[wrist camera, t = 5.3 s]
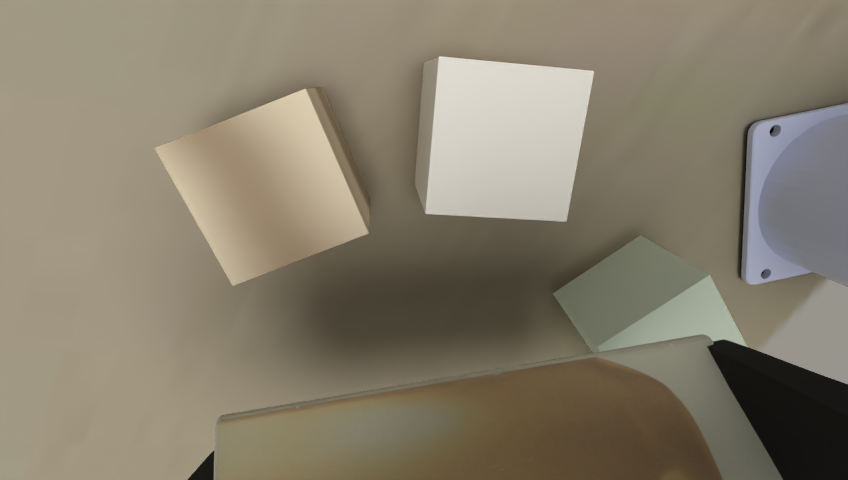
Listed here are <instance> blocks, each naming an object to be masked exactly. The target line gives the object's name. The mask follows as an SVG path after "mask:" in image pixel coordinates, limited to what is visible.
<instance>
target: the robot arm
mask: <svg viewBox="0 0 848 480" xmlns="http://www.w3.org/2000/svg"><path fill="white" fill-rule="evenodd" d="M772 126H773V127H774V130H773V132H772V134H771V135H770V129H771V128H772ZM763 270H765V271H764V273H763V274H762V275H761V273H762V271H763ZM812 272H814V273H817V274H819V275H821V276H824V277H826V278H828V279H830V280H833V281H835V282H838V283H840V284H842V285H844V286H847V287H848V103H844V104H840V105H835V106H830V107H825V108H820V109H815V110H810V111H805V112H800V113H796V114H791V115H786V116H781V117H776V118H771V119H766V120H761V121H758V122H755V123H754V124H753V125H752V126H751V127H750V129H749V131H748V139H747V161H746V183H745V205H744V226H743V248H742V270H741V277H742V280H743V281H744V282H746V283H748V284H750V285H756V284H761V283H765V282H770V281H775V280H779V279H784V278H789V277H793V276H798V275H802V274H807V273H812ZM713 343H714V344H713V345H710V346H707V347H708V349H709V351H710V353H711V355H712V357H713V358H714V360H715V362H716V364H717V366H718V368H719V369H720V371H721V373H722V375H723V377H724V379H725V381H726V383H727V384H728V386H729V388H730V390H731V391H732V393H733V395H734V396H735V398H736V400H737V401H738V403H739V405H740V406H741V408H742V410H743V412H744V413H745V415H746V417H747V418H748V420H749V422H750V423H751V425H752V427H753V429H754V430H755V432H756V434H757V435H758V437H759V439H760V440H761V442H762V444H763V446H764V447H765V449H766V451H767V452H768V454H769V456H770V458H771V459H772V461H773V463H774V465H775V466H776V468H777V470H778V471H779V473H780V475H781V477H782V478H783V480H848V384H845V383H842V382H839V381H836V380H834V379H831V378H828V377H825V376H822V375H819V374H817V373H814V372H811V371H809V370H806V369H804V368H801V367H798V366H796V365H793V364H790V363H788V362H785V361H783V360H780V359H777V358H774V357H772V356H769V355H767V354H764V353H762V352H759V351H756V350H754V349H751V348H748V347H746V346H743V345H740V344H737V343H734V342H731V341H728V340H725V339H723V340H718V341H713ZM188 480H214V451H213V452H212V453H211V454H210V455H209V456H208V457H207V458H206V459H205V461H204V462H203V463H202V464H201V465H200V466H199V467H198V468H197V470H196V471H195V472H194V473H193V474H192V475H191V477H190V478H189V479H188Z"/></svg>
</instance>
